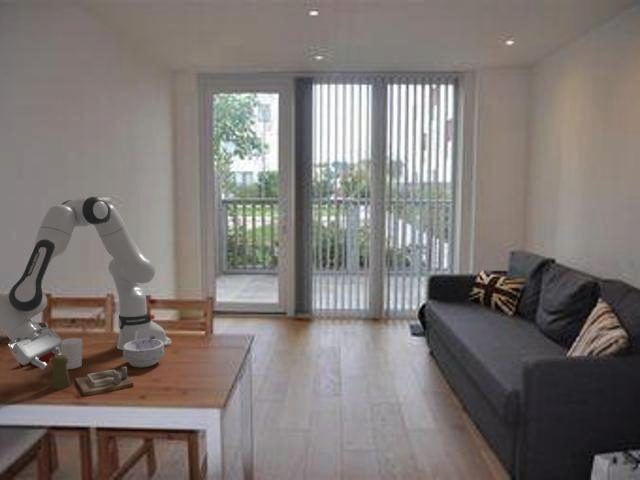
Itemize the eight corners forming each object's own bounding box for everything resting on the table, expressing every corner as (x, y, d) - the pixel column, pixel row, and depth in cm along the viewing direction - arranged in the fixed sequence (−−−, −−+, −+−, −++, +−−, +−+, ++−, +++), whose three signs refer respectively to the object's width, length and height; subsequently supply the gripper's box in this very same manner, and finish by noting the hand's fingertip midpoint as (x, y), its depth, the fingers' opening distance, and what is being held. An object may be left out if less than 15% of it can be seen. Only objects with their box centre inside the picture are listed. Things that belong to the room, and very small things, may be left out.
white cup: (88, 364, 217) (86, 339, 215) (73, 370, 209) (71, 345, 208) (71, 362, 219) (70, 337, 218) (56, 368, 212) (54, 343, 211)
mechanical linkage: (35, 369, 212) (35, 356, 211) (19, 367, 213) (18, 355, 213) (62, 355, 227) (61, 344, 227) (47, 354, 229) (46, 343, 228)
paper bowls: (126, 372, 207) (126, 352, 206) (120, 361, 221) (120, 341, 220) (168, 366, 214) (167, 346, 213) (160, 355, 228) (159, 336, 227)
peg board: (121, 372, 207) (121, 359, 206) (133, 386, 194) (133, 371, 193) (75, 381, 198) (74, 367, 198) (84, 396, 185) (83, 381, 184)
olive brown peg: (55, 383, 196) (53, 353, 195) (73, 382, 197) (71, 352, 196) (48, 389, 190) (47, 358, 189) (66, 389, 191) (65, 358, 190)
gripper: (11, 337, 182) (40, 367, 182) (48, 321, 203) (75, 348, 202) (-1, 349, 183) (29, 379, 183) (38, 332, 204) (64, 359, 203)
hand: (53, 363), depth 193 cm, fingers open, 8 cm apart
